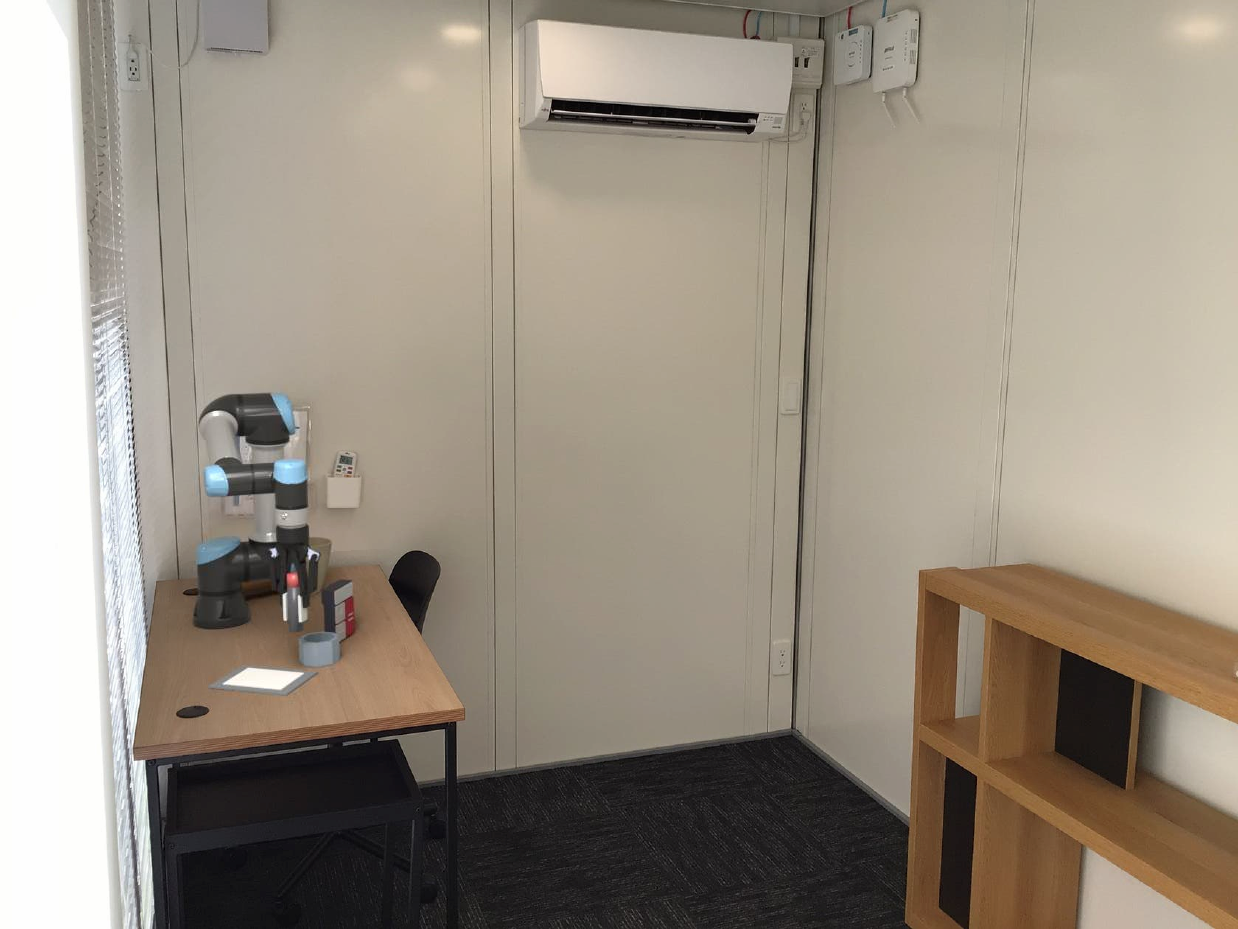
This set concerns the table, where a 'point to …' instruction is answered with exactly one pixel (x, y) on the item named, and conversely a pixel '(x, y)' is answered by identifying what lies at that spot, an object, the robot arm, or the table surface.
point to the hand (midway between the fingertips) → (295, 619)
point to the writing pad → (264, 680)
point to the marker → (293, 602)
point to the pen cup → (319, 649)
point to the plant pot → (324, 548)
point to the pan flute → (257, 589)
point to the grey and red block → (339, 608)
